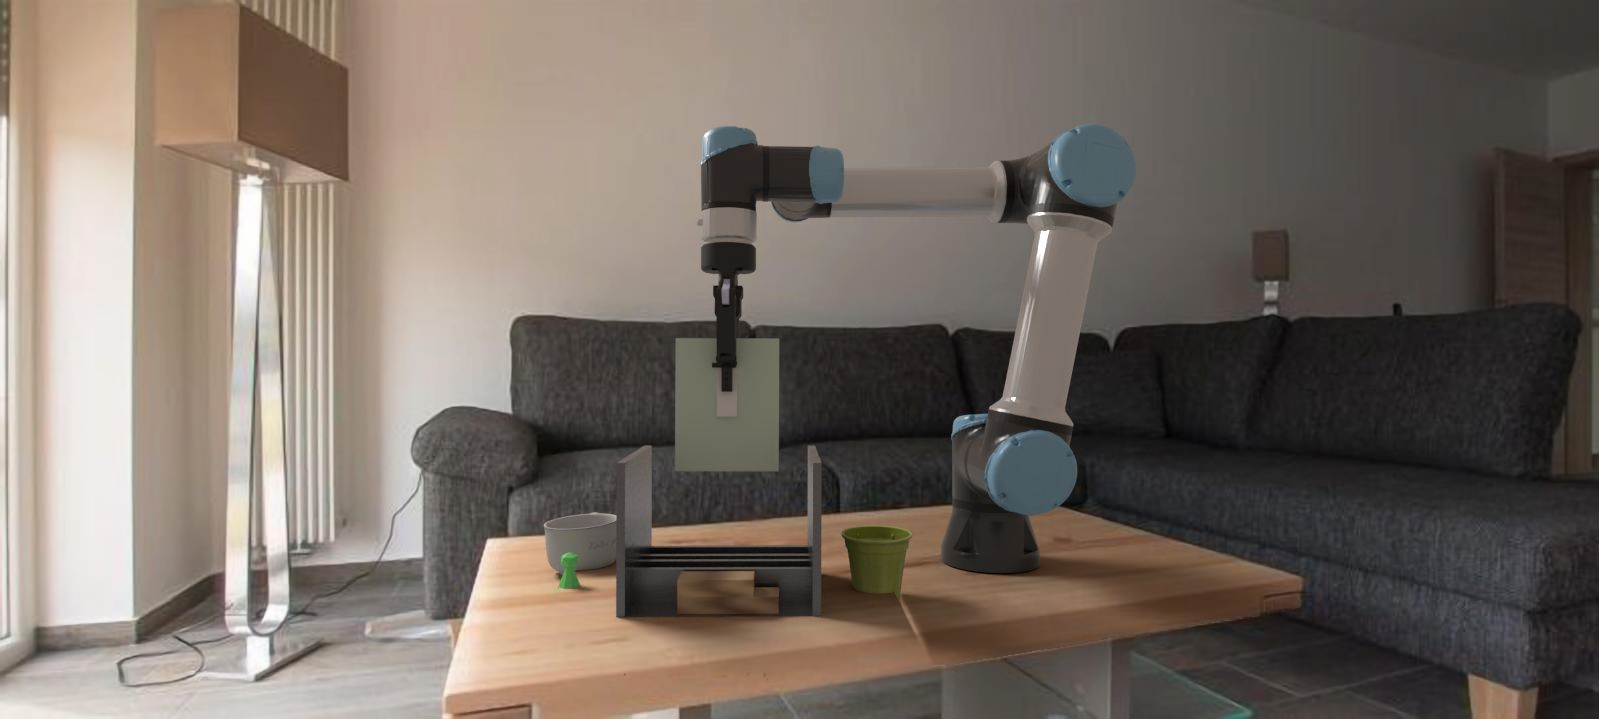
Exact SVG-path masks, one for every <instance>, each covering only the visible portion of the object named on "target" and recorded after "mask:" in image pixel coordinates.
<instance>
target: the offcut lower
mask: <svg viewBox="0 0 1599 719" xmlns="http://www.w3.org/2000/svg"><path fill="white" fill-rule="evenodd" d="M677 614H779V587H755V588H754V596H753V597H677Z"/></svg>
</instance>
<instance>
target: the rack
mask: <svg viewBox="0 0 1599 719" xmlns="http://www.w3.org/2000/svg"><path fill="white" fill-rule="evenodd" d="M652 448H653V446H652V445H643V446H641V447H639V448H638V449H637V450H635V451H633V452H632V453H630V454H629V455H627V456H625V457H624V458H622V459H621V460H619V461H617V462H616V491H615V492H616V496H615V497H616V501H615V502H616V504H615V505H616V511H615V512H616V514H615V515H616V560H615V561H616V565H615V567H616V568H615V570H616V572H615V574H616V575H615V576H616V577H615V579H616V580H615V586H616V587H615V588H616V589H615V590H616V591H615V592H616V593H615V606H616V607H615V618H731V617H732V618H738V617H739V618H743V617H744V618H750V617H751V618H752V617H753V618H758V617H759V618H760V617H761V618H766V617H769V618H770V617H771V618H772V617H775V618H777V617H778V618H779V617H781V618H782V617H785V618H787V617H789V618H790V617H793V618H794V617H796V618H797V617H802V618H803V617H804V618H805V617H806V618H807V617H822V482H823V480H822V478H823V477H822V474H823V473H822V469H823V468H822V460H821V458H820V456H819V452H818V450H817V446H816V445H807V545H805V544H803V545H801V544H799V545H798V544H797V545H794V544H793V545H791V544H789V545H787V544H785V545H784V544H783V545H782V544H781V545H780V544H779V545H773V544H772V545H771V544H770V545H768V544H767V545H764V544H763V545H758V544H757V545H754V544H753V545H752V544H751V545H750V544H748V545H747V544H746V545H744V544H743V545H741V544H740V545H731V544H729V545H723V544H722V545H652V544H653V543H652V542H653V540H652V535H653V534H652V533H653V532H652V528H653V524H652V519H653V517H652V516H653V514H652V512H653V511H652V510H653V506H652V503H653V502H652V500H653V498H652V496H653V489H652V487H653V486H652V484H653V482H652V480H653V478H652V477H653V476H652V474H653V469H652V468H653V467H652V466H653V464H652V462H653V460H652V459H653V458H652V455H653V449H652ZM682 571H755V587H779V614H677V580H678V578H679V576H680V574H681V572H682Z"/></svg>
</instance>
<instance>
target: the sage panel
mask: <svg viewBox="0 0 1599 719" xmlns="http://www.w3.org/2000/svg"><path fill="white" fill-rule="evenodd" d="M716 356H717V337H714V338H713V337H705V338H704V337H690V338H689V337H675V371H674V372H675V377H674V378H675V385H674V386H675V387H674V388H675V391H674V393H675V396H674V398H675V401H674V402H675V405H674V406H675V408H674V409H675V411H674V413H675V416H674V417H675V418H674V420H675V421H674V422H675V423H674V424H675V425H674V472H780V471H779V470H780V468H779V467H780V463H779V462H780V461H779V460H780V459H779V458H780V457H779V456H780V454H779V453H780V450H779V449H780V444H779V443H780V338H764V337H763V338H753V337H752V338H749V337H747V338H742V337H741V338H740V337H739V338H736V357H737V360H736V361H737V366H736V368H738V375H737V417H717V368H712V363H717V362H716Z"/></svg>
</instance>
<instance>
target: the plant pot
mask: <svg viewBox="0 0 1599 719" xmlns="http://www.w3.org/2000/svg"><path fill="white" fill-rule="evenodd" d="M840 533H841V537H842V538H843V539H844V544H845V548H846V550H847V556H848V562H849V569H850V575H851V576H850V577H851V582H852V585H851V586H852V588H853V589H855V590H856V591H859V592H861V593H868V594H889V593H894V594H895V596H896V599H897V600H900V598H901V592H902V591H901V590H902V585H903V576H904V569H905V561H906V554H907V550H908V548H909V543H910V540H911V539H913V533H912V531H910V530H908V529H906V528H902V527H897V526H891V525H890V526H889V525H862V526H861V525H859V526H854V527H847V528H846V529H843V530H842V531H841V532H840Z"/></svg>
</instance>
